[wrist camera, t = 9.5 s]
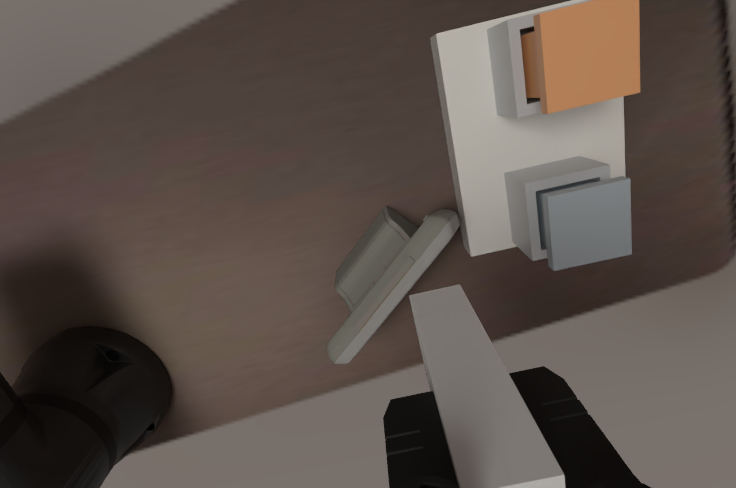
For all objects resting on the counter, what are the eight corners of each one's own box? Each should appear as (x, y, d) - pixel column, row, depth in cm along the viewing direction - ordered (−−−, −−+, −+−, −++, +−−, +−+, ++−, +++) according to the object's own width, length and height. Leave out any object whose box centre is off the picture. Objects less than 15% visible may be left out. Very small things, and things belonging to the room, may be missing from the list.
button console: (463, 246, 44) (486, 277, 37) (429, 38, 38) (448, 24, 30) (608, 214, 44) (661, 239, 36) (600, -4, 37) (663, -29, 29)
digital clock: (362, 331, 48) (364, 396, 38) (304, 277, 45) (289, 330, 35) (478, 236, 44) (514, 279, 34) (421, 172, 42) (442, 198, 32)
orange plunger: (506, 109, 36) (547, 114, 28) (498, 31, 34) (539, 13, 26) (579, 92, 35) (640, 92, 28) (574, 12, 33) (638, -11, 26)
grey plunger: (517, 238, 41) (553, 271, 33) (509, 176, 39) (547, 197, 31) (580, 224, 40) (631, 254, 33) (576, 161, 38) (630, 178, 31)
